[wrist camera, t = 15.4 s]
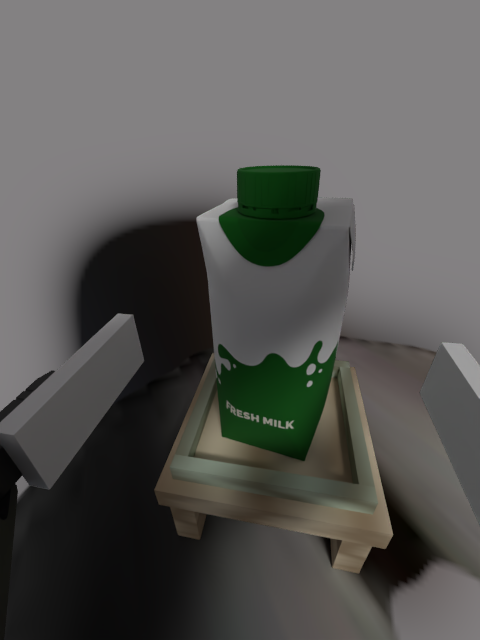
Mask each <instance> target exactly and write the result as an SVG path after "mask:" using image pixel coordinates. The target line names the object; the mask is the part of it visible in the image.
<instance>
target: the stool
mask: <svg viewBox="0 0 480 640" xmlns="http://www.w3.org/2000/svg"><path fill="white" fill-rule="evenodd" d="M154 491H155V494H156V497H157V501H158V504H159V505H163V506H168V507H170V509H171V512H172V516H173V519H174V523H175V526H176V530H177V533H178V535H179V536H184V537H189V538H193V539H198V540H200V538H201V534H202V530H203V526H204V523H205V519H206V514H209V515H214V516H220V517H225V518H230V519H235V520H240V521H245V522H250V523H255V524H260V525H266V526H271V527H276V528H281V529H286V530H291V531H296V532H301V533H307V534H312V535H317V536H322V537H327V538H330V542H331V557H332V568H335V569H340V570H345V571H350V572H354V573H359V572H360V570H361V567H362V565H363V563H364V561H365V559H366V557H367V555H368V553H369V551H370V549H371V547H372V546H373V547H378V548H383V549H386V547H387V545H388V543H389V541H390V540H391V538H392V536H393V532H392V528H391V523H390V519H389V515H388V510H387V506H386V502H385V497H384V493H383V488H382V484H381V480H380V475H379V471H378V467H377V462H376V458H375V454H374V449H373V445H372V440H371V436H370V432H369V427H368V423H367V419H366V414H365V410H364V405H363V401H362V397H361V392H360V388H359V384H358V379H357V375H356V371H355V367H350V365H349V362H348V361H337V360H335V363H334V368H333V373H332V379H331V383H330V387H329V391H328V395H327V399H326V403H325V406H324V409H323V412H322V415H321V418H320V421H319V424H318V426H317V429H316V432H315V434H314V437H313V440H312V443H311V445H310V448H309V451H308V453H307V456H306V459H305V461H302V460H298V459H295V458H292V457H288V456H285V455H282V454H278V453H275V452H271V451H268V450H265V449H261V448H258V447H255V446H251V445H248V444H245V443H241V442H238V441H235V440H231V439H228V438H225V437H222V433H221V423H220V412H219V402H218V392H217V380H216V368H215V356H214V353H212V355H211V358H210V360H209V362H208V365H207V367H206V369H205V372H204V374H203V376H202V379H201V381H200V383H199V386H198V388H197V391H196V393H195V395H194V398H193V400H192V402H191V405H190V407H189V409H188V412H187V414H186V416H185V419H184V421H183V423H182V426H181V428H180V431H179V433H178V435H177V438H176V440H175V442H174V445H173V447H172V449H171V452H170V454H169V456H168V459H167V461H166V464H165V466H164V468H163V471H162V473H161V475H160V478H159V480H158V482H157V485H156V487H155V489H154Z"/></svg>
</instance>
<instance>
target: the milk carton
mask: <svg viewBox="0 0 480 640" xmlns="http://www.w3.org/2000/svg"><path fill="white" fill-rule="evenodd" d="M319 180H320V168H318V167H310V166H255V167H245V168H240V169H238V171H237V199H229V200H227V201H225V203H223V204H221V205H219V206H217V207H215V208H213V209H211V210H209V211H207V212H205V213H203V214H201V215H200V216H198V217H197V224H198V230H199V234H200V239H201V244H202V248H203V254H204V259H205V265H206V270H207V276H208V285H209V297H210V308H211V321H212V332H213V344H214V356H215V368H216V380H217V392H218V402H219V412H220V423H221V433H222V437H225V438H228V439H231V440H235V441H238V442H241V443H245V444H248V445H251V446H255V447H258V448H261V449H265V450H268V451H271V452H275V453H278V454H282V455H285V456H288V457H292V458H295V459H298V460H302V461H305V459H306V456H307V453H308V451H309V448H310V445H311V443H312V440H313V437H314V434H315V432H316V429H317V426H318V424H319V421H320V418H321V415H322V412H323V409H324V406H325V403H326V399H327V395H328V391H329V387H330V383H331V379H332V373H333V368H334V363H335V358H336V353H337V348H338V343H339V338H340V333H341V327H342V322H343V317H344V312H345V307H346V301H347V293H348V287H349V276H350V255H351V242H352V250H353V262H352V271H353V266H354V258H355V241H356V240H355V239H356V238H355V237H356V233H355V232H356V228H355V211H354V204H353V199H350V198H349V199H348V198H322V197H318V190H319Z"/></svg>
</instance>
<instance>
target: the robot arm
mask: <svg viewBox="0 0 480 640" xmlns="http://www.w3.org/2000/svg"><path fill="white" fill-rule="evenodd" d="M143 362H144V358H143V354H142V350H141V346H140V342H139V338H138V334H137V330H136V326H135V322H134V318H133V315H128V314H117V315H116V316H115V317H114V318H113V319H112V320H111V321H109V322H108V323H107V324H106V325H105V326H104V327H103V328H102V329H101V330H100V331H99V332H98V333H96V334H95V335H94V336H93V337H92V338H91V339H90V340H89V341H88V342H87V343H86V344H85V345H83V346H82V347H81V348H80V349H79V350H78V351H77V352H76V353H75V354H74V355H73V356H72V357H70V358H69V359H68V360H67V361H66V362H65V363H64V364H63V365H62V366H61V367H60V368H59V369H57V370H56V371H51V372H49V373H47V374H45V375H43V376H42V377H40V378H38V379H37V380H36V381H34V382H33V383H32V384H31V385H30V386H29V387H28V388H27V389H26V391H23V392H22V393H21V394H20V395H19V396H18V397H16V400H13V401H12V402H11V403H10V404H9V405H7V406H6V407H5V408H4V409H3V410H2V411H1V412H0V640H4V634H5V623H6V613H7V602H8V591H9V580H10V570H11V559H12V548H13V537H14V526H15V516H16V505H17V494H18V490H17V485H15V483H16V482H17V480H18V479H19V478H20V477H21V476H23V477H24V478H25V479H26V481H27V482H28V484H29V485H30V486H35V487H40V488H45V489H49V490H50V488H51V487H52V486H53V484H54V483H55V482H56V480H57V479H58V478H59V476H60V475H61V473H62V472H63V471H64V469H65V468H66V467H67V465H68V464H69V463H70V461H71V460H72V458H73V457H74V456H75V454H76V453H77V452H78V450H79V449H80V448H81V446H82V445H83V443H84V442H85V441H86V439H87V438H88V437H89V435H90V434H91V433H92V431H93V430H94V428H95V427H96V426H97V424H98V423H99V422H100V420H101V419H102V418H103V416H104V415H105V413H106V412H107V411H108V409H109V408H110V407H111V405H112V404H113V403H114V401H115V400H116V398H117V397H118V396H119V394H120V393H121V392H122V390H123V389H124V388H125V386H126V385H127V383H128V382H129V381H130V379H131V378H132V376H133V375H134V374H135V373H136V371H137V370H138V368H139V367H140V365H141V364H142V363H143ZM420 395H421V397H422V399H423V401H424V404H425V406H426V408H427V410H428V413H429V415H430V417H431V419H432V421H433V424H434V426H435V428H436V430H437V432H438V435H439V437H440V439H441V441H442V444H443V446H444V448H445V450H446V452H447V455H448V457H449V459H450V461H451V463H452V466H453V468H454V470H455V472H456V475H457V477H458V479H459V481H460V483H461V486H462V488H463V490H464V492H465V494H466V497H467V499H468V501H469V503H470V506H471V508H472V510H473V512H474V514H475V517H476V519H477V521H478V523H479V525H480V365H479V364H478V363H477V362H476V360H475V359H474V358H473V356H472V355H471V354H470V352H469V351H468V350H467V349H466V348H465V346H464V345H463V344H457V343H445V342H441V344H440V346H439V349H438V351H437V353H436V356H435V358H434V360H433V363H432V365H431V367H430V370H429V372H428V374H427V377H426V379H425V381H424V384H423V386H422V388H421V391H420Z"/></svg>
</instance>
